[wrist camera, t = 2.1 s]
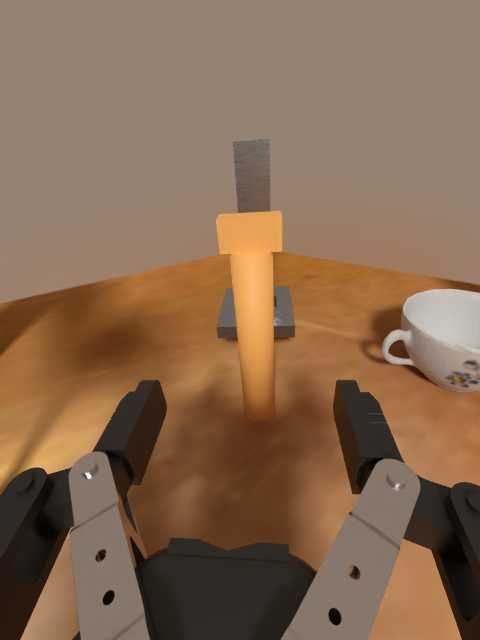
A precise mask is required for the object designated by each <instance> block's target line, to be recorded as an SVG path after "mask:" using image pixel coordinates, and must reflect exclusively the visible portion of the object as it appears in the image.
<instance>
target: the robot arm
mask: <svg viewBox="0 0 480 640" xmlns="http://www.w3.org/2000/svg"><path fill="white" fill-rule="evenodd" d="M166 410H167V405H166V400H165V397H164V394H163V391H162V388H161V384H160V382H159V381H158V380H142V381H141V382H140V383H139V385H138V387H137V389H136V391H135V392H129V393H128V394H127V395H126V396H125V397H124V398H123V399H122V400H121V401H120V403H119V405H118V407H117V408H116V412H114V414H113V416H112V417H111V420H110V421H109V423H108V425H107V426H106V428H105V430H104V432H103V434H102V436H101V437H100V439H99V441H98V443H97V445H96V446H95V448H94V450H93V451H92V453H89V454H86V455H85V456H83V457H82V458H80V459H79V460H78V461H77V462H76V463H75V464H74V465H73V467H72V468H69V469H65V470H62V471H58V472H55V473H51V474H47V473H46V471H45V470H44V469H42V468H31V469H28V470H26V471H24V472H22V473H20V474H19V475H17V476H16V477H15V478H14V479H13V480H12V481H11V482H10V483H9V484H8V485H7V487H6V488H5V490H4V491H3V493H2V494H1V496H0V640H20V639H21V637H22V634H23V632H24V630H25V628H26V626H27V623H28V621H29V619H30V617H31V614H32V612H33V610H34V608H35V606H36V603H37V601H38V599H39V597H40V595H41V592H42V590H43V588H44V586H45V583H46V581H47V579H48V577H49V575H50V572H51V570H52V568H53V566H54V563H55V561H56V559H57V557H58V555H59V552H60V550H61V548H62V546H63V543H64V541H65V539H66V537H67V535H68V532H69V530H70V528H71V527H73V526H74V529H72V530H71V531H70V545H71V554H72V563H73V572H74V581H75V590H76V599H77V608H78V617H79V626H80V631H79V632H78V633H77V634H76V636H75V637H74V638H73V639H72V640H368V637H369V635H370V632H371V629H372V626H373V623H374V621H375V618H376V615H377V612H378V609H379V607H380V604H381V601H382V598H383V596H384V593H385V590H386V587H387V584H388V582H389V579H390V576H391V573H392V571H393V568H394V565H395V562H396V559H397V557H398V554H399V550H400V545H401V542H402V540H403V539H406V540H408V541H411V542H413V543H416V544H418V545H421V546H423V547H426V548H428V549H431V551H432V554H433V556H434V559H435V562H436V565H437V568H438V571H439V574H440V577H441V580H442V583H443V586H444V589H445V591H446V594H447V597H448V600H449V603H450V606H451V609H452V612H453V615H454V618H455V621H456V623H457V626H458V629H459V632H460V635H461V638H462V640H480V486H478V485H475V484H472V483H467V482H461V483H457V484H455V485H454V486H453V487H452V488H449V487H446V486H443V485H440V484H437V483H434V482H431V481H428V480H425V479H423V478H421V477H420V476H418V475H416V474H415V472H414V471H413V470H412V469H411V468H410V467H409V466H407V465H406V464H405V463H404V461H403V459H402V457H401V455H400V453H399V450H398V448H397V445H396V443H395V441H394V438H393V436H392V433H391V431H390V429H389V426H388V424H387V421H386V419H385V417H384V415H383V412H382V409H381V407H380V405H379V402H378V401H377V400H376V399H375V398H374V397H373V396H372V395H371V394H370V393H369V392H360V390H359V387H358V385H357V382H356V381H355V380H337V381H336V388H335V396H334V404H333V411H334V418H335V423H336V427H337V431H338V435H339V439H340V444H341V448H342V452H343V456H344V460H345V465H346V469H347V473H348V477H349V481H350V486H351V490H352V494H360V496H359V498H358V500H357V502H356V504H355V506H354V508H353V510H352V511H351V512H350V513H349V514H348V515H347V517H346V519H345V520H344V522H343V524H342V526H341V528H340V530H339V532H338V534H337V536H336V538H335V540H334V542H333V543H332V545H331V547H330V549H329V551H328V553H327V555H326V557H325V559H324V561H323V563H322V565H321V567H320V568H319V570H318V572H316V571H315V570H314V569H313V568H312V567H311V566H310V565H309V564H307V563H306V562H305V561H303V560H302V559H300V558H298V557H296V556H294V555H291V554H289V547H288V545H287V544H270V543H256V544H252V545H248V546H244V547H240V548H236V549H233V550H224V549H221V548H219V547H216V546H214V545H211V544H209V543H206V542H204V541H201V540H199V539H183V538H170V542H169V546H168V547H167V548H164V549H162V550H159V551H157V552H155V553H154V554H152V555H150V556H149V557H148V554H147V551H146V549H145V546H144V544H143V542H142V539H141V536H140V533H139V530H138V526H137V523H136V520H135V516H134V513H133V509H132V506H131V503H130V499H129V496H128V494H127V493H128V491H129V488H130V486H131V485H141V482H142V479H143V476H144V474H145V471H146V468H147V465H148V463H149V460H150V457H151V454H152V452H153V449H154V446H155V443H156V441H157V438H158V435H159V432H160V430H161V427H162V424H163V421H164V419H165V416H166Z"/></svg>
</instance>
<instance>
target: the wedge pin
mask: <svg viewBox="0 0 480 640" xmlns="http://www.w3.org/2000/svg"><path fill="white" fill-rule="evenodd" d="M216 223H217V231H218V241H219V249H220V254H230V263H231V273H232V284H233V294H234V305H235V316H236V326H237V337H238V347H239V358H240V368H241V379H242V389H243V400H244V411H245V415H246V416H247V418H248V419H250V420H251V421H254V422H265V421H268V420H269V419H271V418H272V417H273V415H274V412H275V388H274V292H273V252H282V214H281V211H268V212H250V213H233V214H219V216H218V218H217V219H216Z"/></svg>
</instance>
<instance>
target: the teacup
mask: <svg viewBox="0 0 480 640" xmlns="http://www.w3.org/2000/svg"><path fill="white" fill-rule="evenodd" d="M397 340H403V342H404V346H405V348H406V351H407V353H408V355H409V357H410V358H409V359H407V358H404V359H403V358H398V357H394V356H392V355H391V354H389V353H388V350H389V347H390V346H391V345H392V343H393V342H395V341H397ZM381 353H382V355H383V357H384V359H386V360H387V361H388V362H390V363H391V364H399V365H401V364H404V365H412V366H414V367H416V368H418V369H419V370H420V371H421V372H422V373H423V374H424V375H425V376H426V377H427V378H428V379H429V380H430V381H432V382H433V383H435V384H437V385H438V386H440V387H443V388H445V389H448V390H453V391H457V392H473V391H480V293H476V292H471V291H464V290H458V289H434V290H430V291H424V292H421V293H416V294H415V295H413V296H411V297H409V298H407V300H406V302H405V303H404V305H403V308H402V314H401V330H394V331H392V332H390V333H389V334H388V335H387V337H386V338H385V339H384V341H383V345H382V348H381Z"/></svg>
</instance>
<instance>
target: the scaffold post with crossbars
mask: <svg viewBox="0 0 480 640" xmlns="http://www.w3.org/2000/svg"><path fill="white" fill-rule="evenodd" d="M233 150H234V163H235V177H236V191H237V203H238V204H237V205H238V213H250V212H268V211H270V168H269V167H270V162H269V161H270V160H269V138H264V139H251V140H240V141H234V142H233ZM273 292H274V337H294V336H295V323H294V317H293V310H292V303H291V296H290V289H289V286H281V287H273ZM217 334H218V338H238V337H237V326H236V316H235V305H234V294H233V288H226V292H225V296H224V300H223V304H222V308H221V312H220V316H219V320H218V324H217Z"/></svg>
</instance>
